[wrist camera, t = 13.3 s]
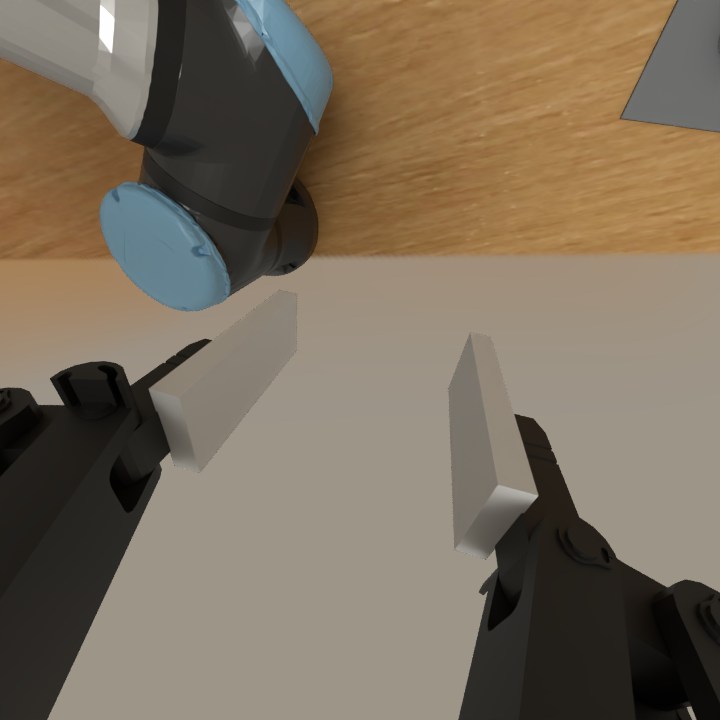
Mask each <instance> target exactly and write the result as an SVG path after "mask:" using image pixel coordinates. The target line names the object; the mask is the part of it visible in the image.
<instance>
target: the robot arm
mask: <svg viewBox="0 0 720 720" xmlns="http://www.w3.org/2000/svg"><path fill="white" fill-rule="evenodd" d="M0 58H2V59H4V60H6V61H9V62H11V63H13V64H15V65H18V66H20V67H22V68H24V69H27V70H29V71H31V72H33V73H36V74H38V75H40V76H42V77H45V78H47V79H49V80H51V81H54V82H56V83H58V84H61V85H63V86H65V87H67V88H70V89H72V90H74V91H76V92H79V93H81V94H83V95H85V96H88V97H89V98H90V99H91V100H92V101H93V102H95V103H96V104H97V105H98V107H99V108H100V109H101V111H102V112H103V113H104V115H105V116H106V117H107V119H108V120H109V121H110V123H111V124H112V125H113V126H114V128H115V129H116V130H117V132H118V133H119V134H120V136H122V137H124V138H125V139H127V140H130V141H133V142H135V143H138V144H140V145H143V146H145V147H144V154H143V161H142V166H141V173H140V178H139V181H138V182H124V183H121V184H120V185H119V186H118V187H117V188H114V189H111V190H110V191H108V192H107V193H106V195H105V196H104V198H103V200H102V202H101V206H100V224H101V229H102V233H103V236H104V239H105V241H106V244H107V246H108V248H109V250H110V252H111V254H112V256H113V257H114V259H115V260H116V261H117V262H118V264H119V265H120V266H121V268H122V270H123V271H124V273H125V274H126V275H127V276H128V277H129V278H130V280H131V281H132V282H133V283H134V284H135V285H137V287H139V288H140V289H141V290H142V291H143V292H145V293H146V294H147V295H148V296H150V297H151V298H153V299H154V300H156V301H158V302H160V303H161V304H163V305H166V306H168V307H171V308H173V309H177V310H181V311H200V310H203V309H206V308H208V307H211V306H213V305H216V304H219V303H221V302H223V301H224V300H226V298H227V297H229V296H230V295H232V294H234V293H235V292H237V291H239V290H240V289H241V288H243V287H245V286H247V285H248V284H249V283H251V282H253V281H255V280H256V279H258V278H259V277H261V276H262V275H266V276H279V275H284V274H288V273H290V272H292V271H294V270H296V269H297V268H299V267H300V266H302V265H303V264H304V263H305V262H306V261H307V260H308V259H309V257H310V256H311V254H312V253H313V251H314V248H315V246H316V242H317V237H318V219H317V214H316V210H315V207H314V204H313V201H312V199H311V197H310V195H309V193H308V192H307V190H306V189H305V187H304V186H303V185H302V183H301V182H300V181H299V180H298V179H297V178H296V175H297V173H298V170H299V168H300V166H301V164H302V161H303V159H304V157H305V155H306V152H307V150H308V148H309V146H310V143H311V141H312V139H313V137H314V136H317V134H318V132H319V123H320V120H321V118H322V115H323V113H324V110H325V108H326V105H327V103H328V100H329V98H330V95H331V92H332V87H333V76H332V70H331V67H330V64H329V61H328V59H327V57H326V55H325V53H324V52H323V50H322V49H321V47H320V46H319V44H318V43H317V41H316V40H315V39H314V37H313V36H312V35H311V33H310V32H309V31H308V29H307V28H306V27H305V25H304V24H303V23H302V22H301V20H300V19H299V18H298V17H297V15H296V14H295V13H294V12H293V10H292V9H291V8H290V7H289V6H288V4H287V3H286V2H285V1H284V0H0ZM296 332H297V294H295V293H291V292H286V291H282V290H279V291H277V292H276V293H275V294H273V295H272V296H271V297H269V298H268V299H267V300H265V301H264V302H263V303H261V304H260V305H259V306H257V307H256V308H255V309H253V310H252V311H251V312H249V313H248V314H247V315H246V316H244V317H243V318H242V319H240V320H239V321H238V322H236V323H235V324H234V325H232V326H231V327H230V328H228V329H227V330H226V331H225V332H223V333H222V334H220V335H219V336H218V337H216V338H215V339H214V340H209V339H203V340H200V341H198V342H195V343H192V344H190V345H188V346H186V347H185V348H184V349H182V350H181V351H179V352H178V353H177V354H176V356H172V357H171V358H169V359H168V360H167V361H166V363H162V364H161V365H159V366H158V367H157V368H155V369H154V370H152V371H151V372H150V373H148V374H147V375H145V376H144V377H142V378H141V379H140V380H138V381H137V382H135V383H134V384H132V385H131V386H130V385H129V382H128V380H127V377H126V374H125V372H124V369H123V367H122V366H120V365H118V364H116V363H112V362H106V361H100V362H89V363H84V364H80V365H75V366H73V367H70V368H68V369H65V370H63V371H60V372H59V373H57V374H56V375H54V376H53V377H51V378H50V380H51V382H52V383H53V385H54V387H55V389H56V390H57V392H58V394H59V396H60V397H61V399H62V401H63V403H64V405H38V404H37V403H36V401H35V399H34V398H33V396H32V395H31V393H30V392H29V391H27V390H25V389H22V388H2V389H0V720H47V719H48V717H49V714H50V712H51V710H52V708H53V706H54V704H55V702H56V699H57V697H58V695H59V693H60V690H61V689H62V686H63V684H64V682H65V680H66V678H67V676H68V674H69V672H70V669H71V667H72V665H73V663H74V661H75V659H76V656H77V654H78V652H79V650H80V648H81V646H82V643H83V641H84V639H85V637H86V635H87V633H88V631H89V629H90V627H91V624H92V622H93V620H94V618H95V616H96V614H97V611H98V609H99V607H100V605H101V603H102V601H103V599H104V596H105V594H106V592H107V590H108V588H109V585H110V583H111V581H112V579H113V577H114V575H115V573H116V571H117V569H118V566H119V564H120V562H121V560H122V558H123V556H124V554H125V551H126V549H127V547H128V545H129V543H130V541H131V539H132V536H133V534H134V532H135V530H136V528H137V526H138V524H139V521H140V519H141V517H142V515H143V513H144V511H145V509H146V506H147V504H148V502H149V500H150V498H151V496H152V494H153V491H154V489H155V487H156V485H157V483H158V480H159V479H160V475H161V471H162V469H161V466H160V464H159V463H160V462H161V461H162V459H164V457H165V456H166V455H167V454H168V453H169V452H170V454H171V457H172V460H173V463H174V466H177V467H181V468H184V469H187V470H191V471H194V472H197V473H200V472H201V471H202V470H203V469H204V467H205V466H206V465H207V464H208V462H209V461H210V460H211V459H212V457H213V456H214V455H215V453H216V452H217V451H218V450H219V448H220V447H221V446H222V444H223V443H224V442H225V440H226V439H227V438H228V437H229V436H230V434H231V433H232V432H233V430H234V429H235V428H236V427H237V426H238V424H239V423H240V422H241V420H242V419H243V418H244V417H245V415H246V414H247V413H248V412H249V410H250V409H251V408H252V406H253V405H254V404H255V403H256V401H257V400H258V399H259V397H260V396H261V395H262V394H263V393H264V391H265V390H266V389H267V387H268V386H269V385H270V384H271V382H272V381H273V380H274V378H275V377H276V376H277V375H278V373H279V372H280V371H281V370H282V368H283V367H284V366H285V364H286V363H287V362H288V361H289V359H290V358H291V357H292V356H293V354H294V353H295V352H296ZM448 389H449V416H450V443H451V471H452V496H453V497H452V498H453V526H454V550H456V551H459V552H462V553H465V554H469V555H472V556H475V557H479V558H482V559H485V560H486V559H487V558H488V556H489V555H490V554H491V553H492V552H493V550H494V549H495V551H496V557H497V564H498V568H497V569H496V570H495V571H494V572H493V573H492V575H491V576H490V577H489V578H488V579H487V580H486V581H485V583H484V584H483V585H482V587H481V589H480V591H479V593H481V594H482V595H484V594H485V593H486V592H487V591H488V593H487V597H486V602H485V606H484V611H483V615H482V619H481V623H480V628H479V632H478V637H477V641H476V646H475V650H474V654H473V658H472V663H471V667H470V672H469V676H468V681H467V685H466V689H465V693H464V698H463V702H462V706H461V711H460V715H459V719H458V720H692V719H691V717H690V715H689V712H688V710H687V707H689V706H691V707H692V709H693V712H694V714H695V717H696V719H697V720H720V593H719V592H718V591H716V590H714V589H712V588H710V587H708V586H706V585H704V584H702V583H700V582H695V581H690V580H683V581H680V582H678V583H675V584H673V585H672V586H670V587H668V588H667V587H665V586H663V585H662V584H660V583H658V582H656V581H655V580H653V579H651V578H649V577H648V576H646V575H644V574H642V573H641V572H639V571H637V570H635V569H633V568H632V567H630V566H628V565H626V564H625V563H623V562H621V561H620V560H618V559H617V558H616V555H615V553H614V552H613V550H612V548H611V547H610V545H609V544H608V542H607V541H606V539H605V538H604V537H603V536H602V535H601V534H600V533H599V532H598V531H597V530H596V529H595V528H594V527H593V526H591V525H590V524H588V523H587V522H585V521H584V520H582V519H581V518H579V516H578V513H577V511H576V508H575V506H574V503H573V501H572V498H571V496H570V493H569V491H568V488H567V485H566V483H565V480H564V478H563V475H562V473H561V470H560V468H559V465H557V464H556V463H557V461H556V458H555V455H554V453H553V452H552V451H551V449H552V448H551V445H550V443H549V440H548V438H547V435H546V433H545V432H544V431H543V429H542V428H541V427H540V426H539V425H538V424H537V423H536V421H535V420H534V419H533V418H529V417H525V416H520V415H516V414H514V412H513V409H512V406H511V402H510V399H509V396H508V392H507V389H506V386H505V382H504V379H503V375H502V372H501V369H500V366H499V362H498V359H497V356H496V352H495V349H494V345H493V342H492V339H491V337H490V336H486V335H481V334H477V333H472V332H470V334H469V337H468V339H467V342H466V344H465V347H464V350H463V352H462V355H461V357H460V360H459V362H458V365H457V368H456V370H455V373H454V375H453V378H452V380H451V383H450V386H449V388H448Z"/></svg>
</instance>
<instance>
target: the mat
mask: <svg viewBox="0 0 720 720" xmlns="http://www.w3.org/2000/svg"><path fill="white" fill-rule="evenodd" d="M719 37H720V0H677V2H676V4H675V6H674V8H673V10H672V13H671V15H670V17H669V19H668V21H667V23H666V25H665V27H664V29H663V31H662V33H661V35H660V37H659V39H658V41H657V43H656V45H655V47H654V49H653V51H652V54H651V56H650V58H649V60H648V62H647V64H646V66H645V68H644V70H643V72H642V74H641V76H640V78H639V80H638V82H637V84H636V86H635V88H634V90H633V93H632V95H631V97H630V99H629V101H628V103H627V105H626V107H625V109H624V111H623V113H622V115H621V117H620V119H627V120H634V121H641V122H649V123H656V124H663V125H671V126H678V127H685V128H693V129H700V130H707V131H714V132H720V53H719V48H718V44H719Z"/></svg>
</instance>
